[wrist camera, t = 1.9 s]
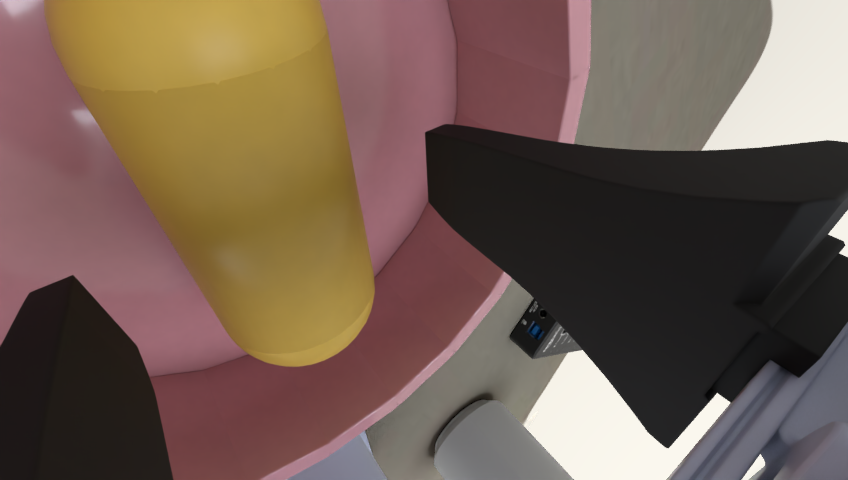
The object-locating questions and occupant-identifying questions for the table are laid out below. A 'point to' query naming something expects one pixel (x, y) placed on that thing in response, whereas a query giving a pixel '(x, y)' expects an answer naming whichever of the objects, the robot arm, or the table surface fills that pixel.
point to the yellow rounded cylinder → (234, 157)
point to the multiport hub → (542, 334)
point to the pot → (380, 202)
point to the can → (492, 448)
